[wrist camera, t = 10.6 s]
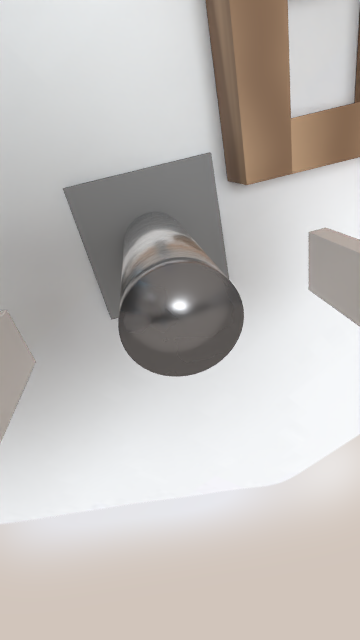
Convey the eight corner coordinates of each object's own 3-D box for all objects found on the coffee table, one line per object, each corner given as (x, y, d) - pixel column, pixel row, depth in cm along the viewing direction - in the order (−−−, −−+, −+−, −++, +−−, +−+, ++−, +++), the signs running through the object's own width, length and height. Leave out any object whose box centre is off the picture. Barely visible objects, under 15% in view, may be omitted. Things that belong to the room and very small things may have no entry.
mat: (111, 317, 25) (111, 319, 25) (64, 188, 20) (62, 188, 20) (229, 286, 25) (230, 288, 25) (209, 152, 21) (211, 152, 20)
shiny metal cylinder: (134, 281, 23) (139, 389, 12) (115, 221, 21) (99, 283, 10) (192, 266, 24) (250, 358, 12) (179, 204, 21) (234, 247, 10)
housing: (227, 181, 22) (246, 184, 18) (197, -68, 16) (216, -134, 12) (415, 134, 22) (470, 129, 18) (452, -126, 16) (542, -205, 13)
